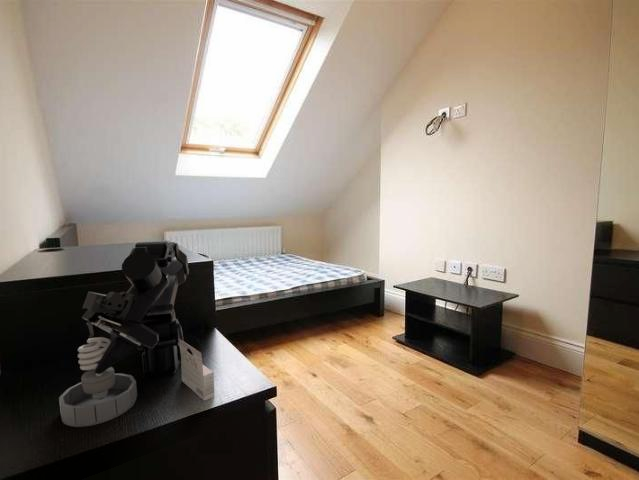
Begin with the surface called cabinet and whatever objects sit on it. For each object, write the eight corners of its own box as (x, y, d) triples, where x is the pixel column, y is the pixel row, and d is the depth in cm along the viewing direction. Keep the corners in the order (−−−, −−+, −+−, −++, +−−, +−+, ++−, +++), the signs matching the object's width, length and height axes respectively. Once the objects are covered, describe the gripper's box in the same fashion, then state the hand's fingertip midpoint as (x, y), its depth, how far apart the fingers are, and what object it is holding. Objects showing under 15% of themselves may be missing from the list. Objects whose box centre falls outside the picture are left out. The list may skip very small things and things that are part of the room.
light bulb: (122, 398, 67) (116, 337, 66) (88, 411, 63) (81, 347, 61) (112, 387, 71) (106, 330, 69) (79, 400, 67) (72, 339, 65)
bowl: (144, 386, 74) (142, 370, 73) (124, 421, 62) (122, 402, 62) (80, 393, 72) (78, 377, 71) (47, 431, 60) (45, 412, 59)
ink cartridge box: (192, 377, 78) (189, 334, 76) (215, 397, 69) (213, 349, 68) (180, 381, 76) (178, 337, 75) (203, 402, 68) (200, 353, 67)
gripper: (88, 269, 72) (28, 339, 65) (137, 279, 62) (73, 364, 54) (129, 297, 80) (80, 363, 72) (180, 310, 70) (128, 389, 62)
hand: (89, 368), depth 65 cm, fingers closed on light bulb, 5 cm apart
